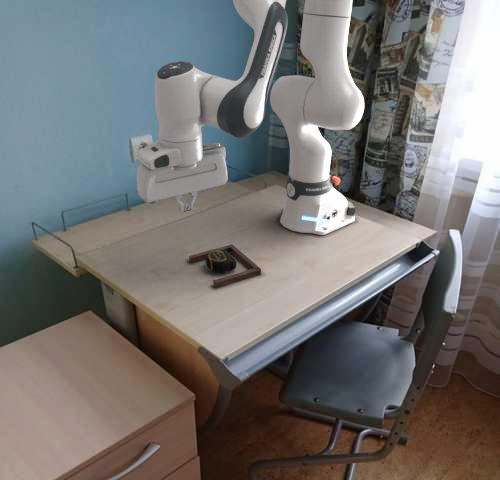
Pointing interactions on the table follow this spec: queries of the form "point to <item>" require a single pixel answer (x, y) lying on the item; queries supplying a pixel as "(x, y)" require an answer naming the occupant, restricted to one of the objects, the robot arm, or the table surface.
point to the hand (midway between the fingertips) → (186, 210)
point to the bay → (235, 277)
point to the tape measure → (220, 261)
